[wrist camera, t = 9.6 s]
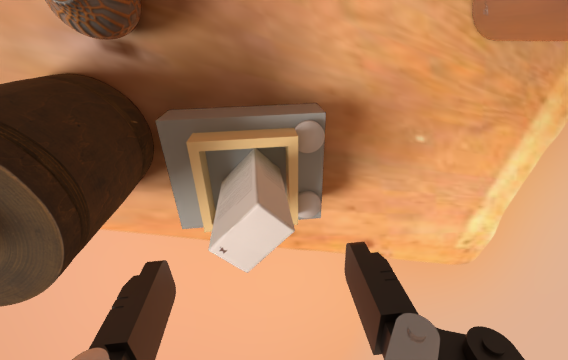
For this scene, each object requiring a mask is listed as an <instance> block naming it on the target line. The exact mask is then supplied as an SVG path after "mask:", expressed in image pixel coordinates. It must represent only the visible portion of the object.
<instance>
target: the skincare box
mask: <svg viewBox="0 0 568 360" xmlns="http://www.w3.org/2000/svg"><path fill="white" fill-rule="evenodd" d="M294 231H295V229H294V225H293V221H292V217H291V213H290V208H289V204H288V200H287V196H286V192H285V188H284V183H283V179H282V175H281V171H280V169H279V168H278V167H277V166H276V165H275V164H274V163H272V162H271V161H270V160H269V159H268V158H267V157H265V156H264V155H263V154H262V153H261V152H260V151H259V150H257V149H256V148H254V149H253V150H252V151H251V152H250V153H249V154H248V155H247V156H246V157H245V158H244V159H243V160H242V161H241V162H240V163H239V164H238V165H237V166H236V167H235V169H234V170H233V171H232V172H231V173H230V174H229V175H228V176H227V177H226V178H225V179H224V180H223V181H222V183H221V188H220V193H219V198H218V204H217V209H216V214H215V219H214V224H213V229H212V233H211V238H210V244H209V251H210V252H212V253H214V254H215V255H217V256H219V257H220V258H222V259H224V260H226V261H227V262H229V263H231V264H232V265H234V266H236V267H237V268H239V269H241V270H243V271H245V272H247V273H248V272H249V271H250V270H251V269H253V268H254V267H255V266H256V265H257V264H258V263H259V262H261V261H262V260H263V259H264V258H265V257H266V256H267V255H268V254H269V253H270V252H272V251H273V250H274V249H275V248H276V247H277V246H278V245H279V244H281V243H282V242H283V241H284V240H285V239H286V238H287V237H289V236H290V235H291V234H292V233H293V232H294Z"/></svg>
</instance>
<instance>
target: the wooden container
mask: <svg viewBox="0 0 568 360" xmlns="http://www.w3.org/2000/svg"><path fill="white" fill-rule="evenodd" d="M152 158H153V139H152V135H151V132H150V129H149V127H148V124H147V123H146V121H145V119H144V117H143V115H142V114H141V113H140V111H139V110H138V109H137V107H136V106H135V105H134V104H133V103H132V102H131V101H130V100H129V99H128V98H126V97H125V96H124V95H123V94H122V93H120V92H119V91H117V90H116V89H114V88H113V87H111V86H109V85H107V84H106V83H103V82H101V81H99V80H96V79H94V78H90V77H87V76H83V75H75V74H57V75H50V76H44V77H38V78H33V79H26V80H20V81H14V82H9V83H4V84H0V306H7V305H12V304H16V303H20V302H23V301H25V300H28V299H31V298H33V297H35V296H37V295H38V294H40V293H42V292H43V291H45V290H46V289H47V288H48V287H50V286H51V285H52V283H54V282H55V280H56V279H57V278H58V277H59V276H60V275H61V274H62V273H63V271H64V270H65V269H66V268H67V267H68V265H69V264H70V263H71V262H72V260H73V259H74V258H75V256H76V255H77V254H78V253H79V252H80V251H81V250H82V249H83V248H84V246H85V245H86V244H87V243H88V242H89V241H90V240H91V238H92V237H93V236H94V235H95V234H96V233H97V231H98V230H99V229H100V228H101V227H102V226H103V224H104V223H105V222H106V221H107V220H108V219H109V218H110V217H111V216H112V214H113V213H114V212H115V211H116V210H117V209H118V208H119V206H120V205H121V204H122V203H123V202H124V201H125V199H126V198H127V197H128V196H129V194H130V193H131V192H132V190H133V189H134V188H135V186H136V185H137V184H138V182H139V181H140V180H141V179H142V177H143V176H144V175H145V173H146V172H147V170H148V169H149V167H150V165H151V162H152Z"/></svg>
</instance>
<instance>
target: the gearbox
mask: <svg viewBox="0 0 568 360" xmlns="http://www.w3.org/2000/svg"><path fill="white" fill-rule="evenodd" d="M325 120H326V112H325V111H324V110H323V109H322V108H321V107H320V106H319V105H318V104H317V103H308V104H286V105H264V106H243V107H221V108H200V109H178V110H168V111H167V112H166V113H164V114H163V115H162V116H161V117H160V118H158V119H157V120H156V121H155V122H156V126H157V130H158V134H159V138H160V142H161V146H162V150H163V154H164V158H165V162H166V166H167V170H168V174H169V178H170V182H171V186H172V190H173V194H174V198H175V202H176V206H177V210H178V214H179V218H180V222H181V226H182V229H189V228H202V227H204V232H212V229H213V224H214V219H215V214H216V209H217V204H218V198H219V193H220V188H221V183H222V181H223V180H224V179H225V178H226V177H227V176H228V175H229V174H230V173H231V172H232V171H233V170H234V169H235V167H236V166H237V165H238V164H239V163H240V162H241V161H242V160H243V159H244V158H245V157H246V156H247V155H248V154H249V153H250V152H251V151H252V150H253V149H254V148H256V149H257V150H259V151H260V152H261V153H262V154H263V155H264V156H265V157H267V158H268V159H269V160H270V161H271V162H272V163H274V164H275V165H276V166H277V167H278V168H279V169H280V171H281V175H282V179H283V183H284V188H285V192H286V196H287V200H288V204H289V208H290V213H291V217H292V221H293V225H298V220H300V219H313V218H321V202H322V182H323V161H324V141H325Z"/></svg>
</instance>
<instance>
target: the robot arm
mask: <svg viewBox="0 0 568 360" xmlns="http://www.w3.org/2000/svg"><path fill="white" fill-rule="evenodd" d="M473 19H474V24H475V26H476V28H477V30H478V31H479V32H480V33H481V35H482V36H484V37H486V38H487V39H490V40H494V41H568V0H473ZM345 276H346V281H347V284H348V286H349V289H350V292H351V295H352V297H353V300H354V303H355V306H356V308H357V311H358V314H359V316H360V319H361V322H362V325H363V328H364V330H365V333H366V336H367V339H368V341H369V344H370V347H371V350H372V352H373V354H374V355H379V354H382V355H383V357H384V360H525V359H524V358H523V357H522V356H521V354H520V353H519V352H518V350H517V349H516V348H515V346H514V345H513V344H512V343H511V342H510V341H509V340H508V339H507V338H505V337H504V336H503V335H502V334H500V333H498V332H496V331H495V330H492V329H490V328H486V327H479V326H478V327H473V328H471V329H470V330H469V331H468V332H467V335H465V334H460V333H455V332H450V331H445V330H441V329H438V328H436V327H435V326H434V325H433V324H432V323H431V322H430V321H428V320H427V319H426V318H424V317H422V316H420V315H419V314H418V313H417V311H416V309H415V308H414V306H413V304H412V302H411V301H410V299H409V297H408V296H407V294H406V292H405V291H404V289H403V287H402V286H401V284H400V282H399V280H398V279H397V277H396V275H395V273H394V272H393V270H392V268H391V267H390V265H389V263H388V261H387V260H386V259H385V258H384V257H382V256H381V255H380V254H379V253H378V252H376V253H370V251H369V249H368V247H367V245H366V244H365V242H355V243H347V245H346V258H345ZM175 294H176V287H175V283H174V280H173V277H172V274H171V271H170V268H169V265H168V263H167V261H165V260H163V261H154V262H147V263H146V264H145V265H144V267H143V269H142V271H141V273H140V275H137V276H133V277H132V278H131V279H130V280H129V281H128V282H127V283H126V284H125V285H124V286H123V288H122V290H121V292H120V293H119V295H118V297H117V300H116V301H115V302H114V304H113V306H112V310H110V312H109V314H108V315H107V317H106V319H105V321H104V322H103V324H102V326H101V328H100V330H99V331H98V333H97V335H96V337H95V339H94V341H93V342H92V344H91V346H90V348H89V349H88V350H86V351H84V352H83V353H81V354H79V355H78V356H76V357H75V358H74V359H72V360H155V358H156V355H157V352H158V349H159V346H160V343H161V340H162V337H163V334H164V330H165V327H166V324H167V321H168V317H169V315H170V312H171V309H172V306H173V303H174V299H175Z"/></svg>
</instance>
